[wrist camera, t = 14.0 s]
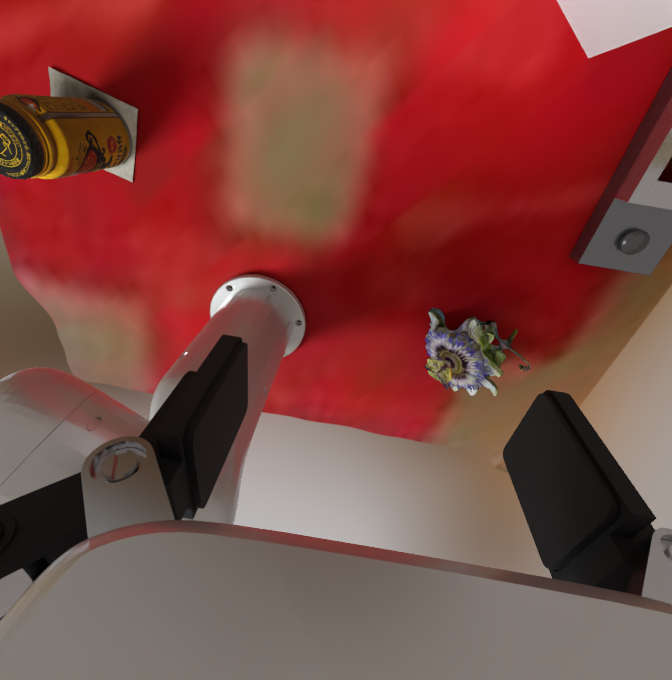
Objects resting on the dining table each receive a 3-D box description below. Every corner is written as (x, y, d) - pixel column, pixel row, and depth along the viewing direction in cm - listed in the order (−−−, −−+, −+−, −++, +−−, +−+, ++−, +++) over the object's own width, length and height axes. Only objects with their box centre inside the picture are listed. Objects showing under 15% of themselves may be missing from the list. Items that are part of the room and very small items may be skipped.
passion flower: (428, 315, 49) (402, 314, 39) (510, 293, 44) (507, 284, 34) (447, 392, 48) (427, 412, 38) (533, 379, 43) (538, 398, 33)
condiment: (133, 182, 38) (46, 206, 28) (54, 147, 37) (-67, 158, 27) (139, 109, 34) (40, 106, 24) (50, 66, 33) (-92, 45, 23)
